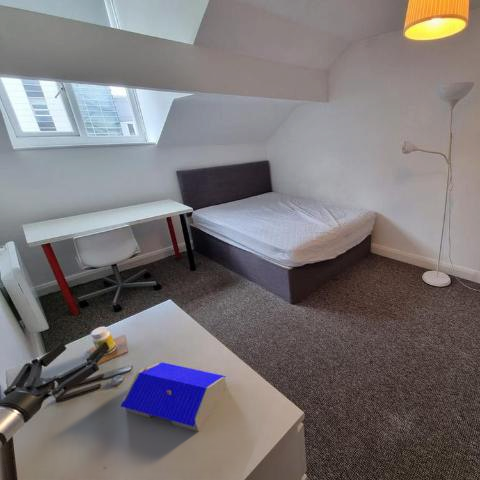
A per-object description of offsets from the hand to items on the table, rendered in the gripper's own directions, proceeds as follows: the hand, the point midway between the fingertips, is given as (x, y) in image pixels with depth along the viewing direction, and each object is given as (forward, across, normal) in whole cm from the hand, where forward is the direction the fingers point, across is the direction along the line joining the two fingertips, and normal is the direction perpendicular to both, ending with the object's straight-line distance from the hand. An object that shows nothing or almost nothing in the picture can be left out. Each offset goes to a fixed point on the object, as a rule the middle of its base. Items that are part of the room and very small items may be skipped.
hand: (85, 345), depth 81 cm
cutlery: (-7, +6, -8) cm, 12 cm away
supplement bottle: (+5, 0, -8) cm, 9 cm away
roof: (-11, +33, -8) cm, 36 cm away
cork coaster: (+5, 0, -8) cm, 10 cm away
